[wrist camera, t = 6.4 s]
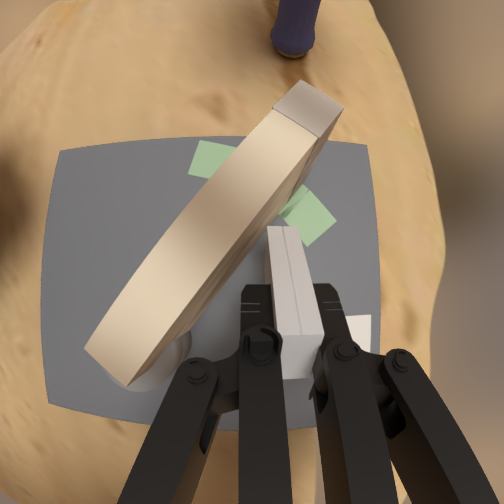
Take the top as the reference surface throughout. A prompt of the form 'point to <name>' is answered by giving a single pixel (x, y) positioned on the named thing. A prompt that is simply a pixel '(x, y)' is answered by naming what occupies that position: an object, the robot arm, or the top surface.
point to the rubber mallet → (295, 27)
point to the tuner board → (150, 232)
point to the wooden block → (210, 241)
